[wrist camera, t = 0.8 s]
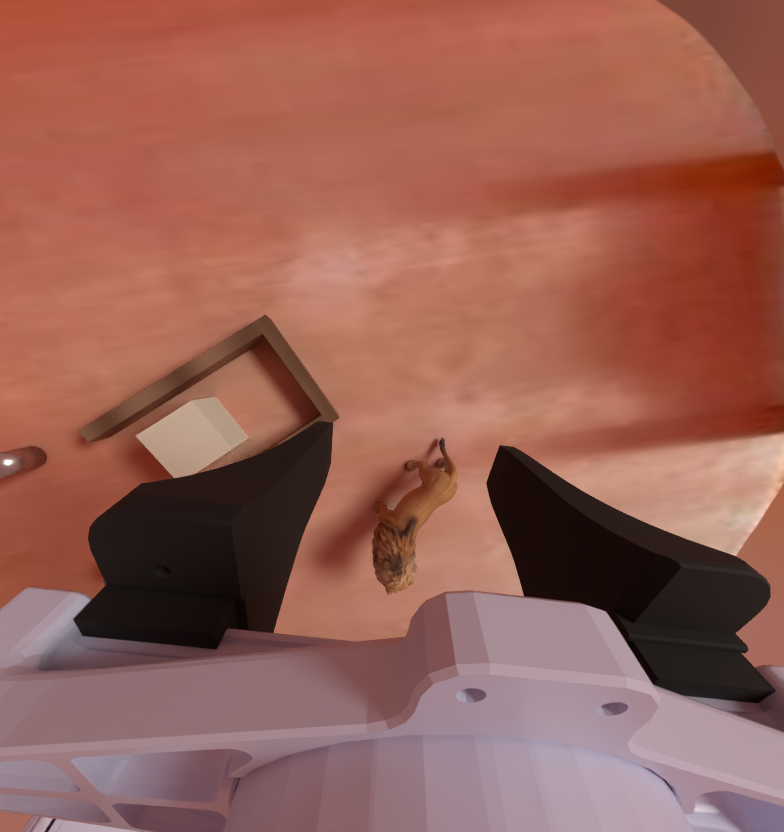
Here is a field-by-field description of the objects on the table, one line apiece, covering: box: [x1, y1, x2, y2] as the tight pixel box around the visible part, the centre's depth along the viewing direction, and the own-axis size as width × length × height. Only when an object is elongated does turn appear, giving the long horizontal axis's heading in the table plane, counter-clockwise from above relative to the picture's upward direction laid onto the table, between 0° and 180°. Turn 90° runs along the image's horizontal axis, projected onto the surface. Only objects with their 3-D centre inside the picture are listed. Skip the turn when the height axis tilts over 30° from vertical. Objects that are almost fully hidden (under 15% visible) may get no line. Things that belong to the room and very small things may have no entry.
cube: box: [136, 397, 249, 478], centre depth 26 cm, size 5×5×5 cm
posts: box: [0, 446, 106, 586], centre depth 25 cm, size 2×15×3 cm, turn 33°
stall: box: [78, 315, 339, 452], centre depth 27 cm, size 18×11×2 cm, turn 123°
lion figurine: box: [372, 438, 457, 594], centre depth 29 cm, size 15×5×9 cm, turn 147°
